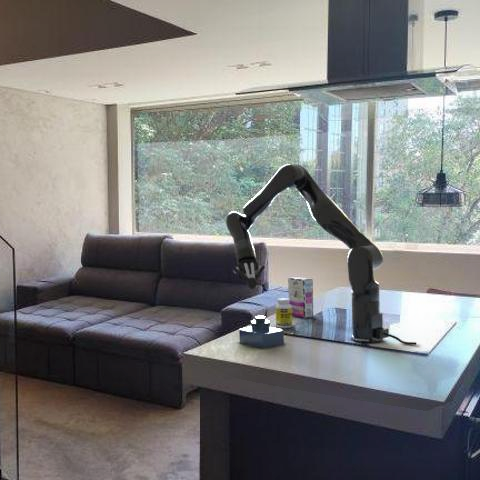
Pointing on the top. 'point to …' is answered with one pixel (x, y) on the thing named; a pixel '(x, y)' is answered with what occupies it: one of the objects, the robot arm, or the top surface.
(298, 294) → the candy bar box
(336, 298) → the top surface
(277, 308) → the pill bottle
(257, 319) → the button
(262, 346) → the blue square base
